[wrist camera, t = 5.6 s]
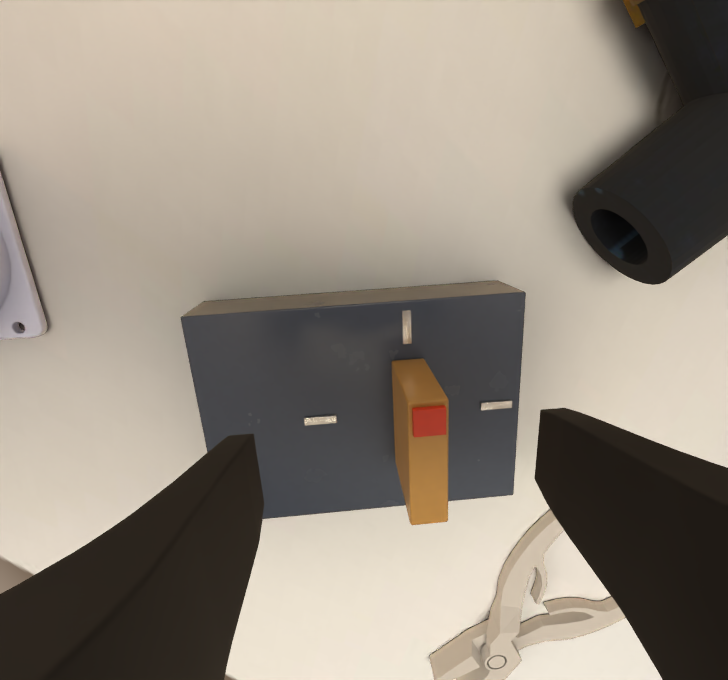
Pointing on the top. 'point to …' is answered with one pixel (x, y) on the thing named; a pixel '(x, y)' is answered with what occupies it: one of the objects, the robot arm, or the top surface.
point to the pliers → (503, 629)
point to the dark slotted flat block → (359, 387)
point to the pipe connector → (669, 154)
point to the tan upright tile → (421, 440)
